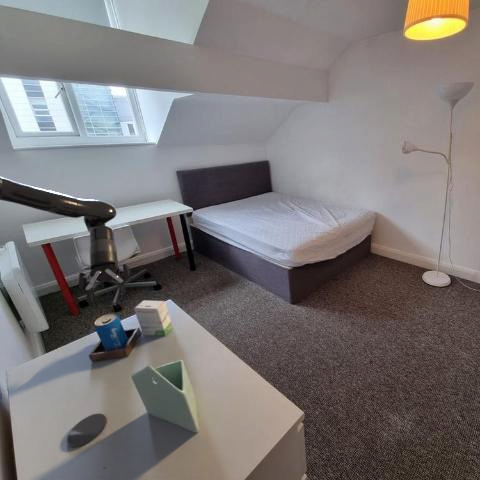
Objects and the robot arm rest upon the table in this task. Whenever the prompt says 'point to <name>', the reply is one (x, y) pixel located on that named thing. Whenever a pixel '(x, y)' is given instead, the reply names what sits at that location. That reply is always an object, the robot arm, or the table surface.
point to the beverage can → (111, 332)
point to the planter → (168, 394)
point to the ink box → (153, 317)
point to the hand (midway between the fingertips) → (107, 297)
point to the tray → (102, 355)
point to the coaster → (86, 430)
